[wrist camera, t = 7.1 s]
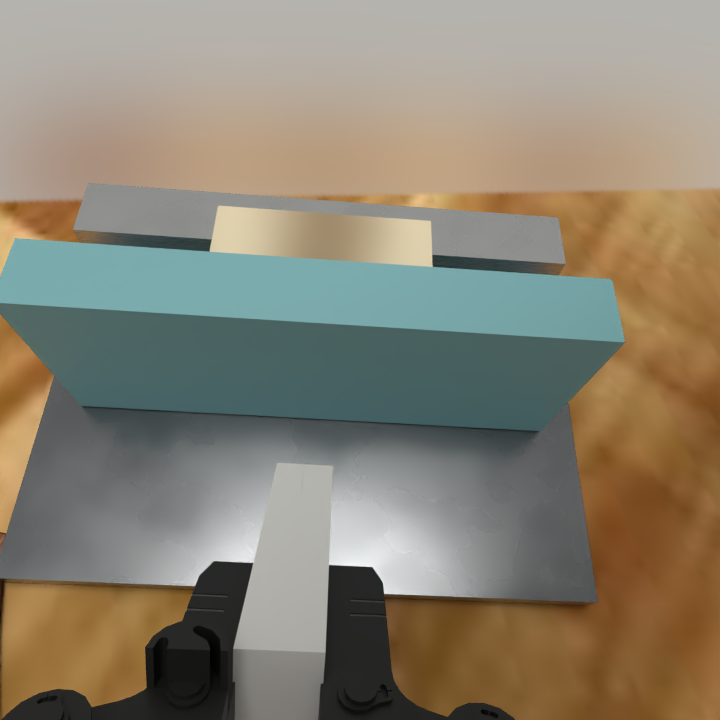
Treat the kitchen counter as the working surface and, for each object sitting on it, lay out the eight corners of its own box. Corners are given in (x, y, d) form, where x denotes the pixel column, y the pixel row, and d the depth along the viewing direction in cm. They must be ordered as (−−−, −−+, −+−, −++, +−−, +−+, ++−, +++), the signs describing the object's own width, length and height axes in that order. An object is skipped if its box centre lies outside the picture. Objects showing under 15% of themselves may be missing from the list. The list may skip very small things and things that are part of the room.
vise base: (540, 283, 32) (588, 202, 26) (585, 605, 24) (665, 586, 19) (103, 254, 30) (58, 162, 25) (7, 582, 23) (-88, 554, 17)
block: (405, 318, 28) (430, 221, 22) (405, 373, 27) (433, 286, 21) (238, 307, 28) (218, 205, 22) (230, 363, 27) (205, 270, 20)
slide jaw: (534, 380, 27) (612, 279, 20) (540, 431, 26) (625, 342, 19) (94, 354, 26) (15, 238, 19) (80, 405, 25) (-10, 302, 18)
